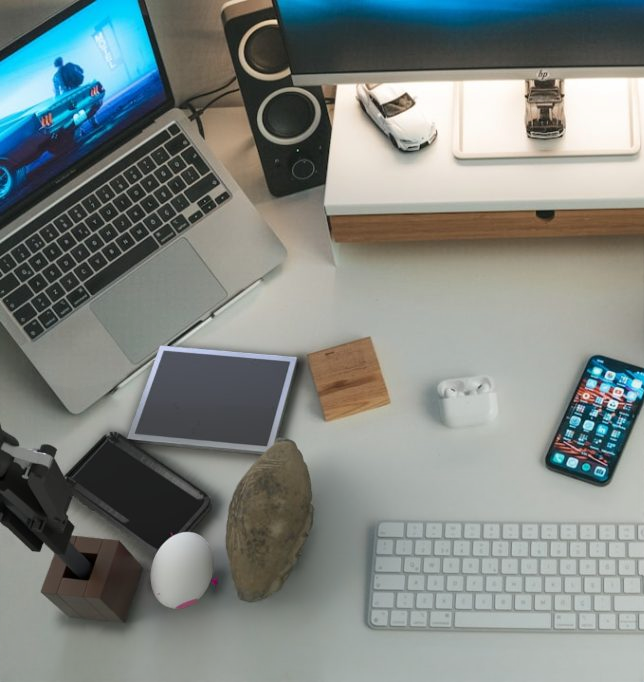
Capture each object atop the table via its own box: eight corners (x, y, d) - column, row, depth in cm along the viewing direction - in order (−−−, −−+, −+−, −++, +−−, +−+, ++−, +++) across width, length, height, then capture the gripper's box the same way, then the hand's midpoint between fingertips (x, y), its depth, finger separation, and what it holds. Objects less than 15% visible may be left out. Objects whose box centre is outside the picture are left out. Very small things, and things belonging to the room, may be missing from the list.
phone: (111, 427, 117) (213, 498, 111) (115, 432, 117) (216, 503, 112) (56, 483, 113) (159, 558, 108) (60, 488, 114) (162, 563, 109)
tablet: (129, 442, 117) (126, 438, 116) (162, 348, 123) (159, 344, 123) (273, 456, 115) (271, 452, 115) (298, 360, 122) (297, 356, 121)
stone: (310, 615, 106) (293, 585, 99) (221, 614, 106) (198, 584, 99) (330, 458, 115) (316, 422, 108) (248, 458, 115) (229, 422, 109)
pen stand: (68, 617, 106) (39, 592, 101) (88, 561, 110) (61, 533, 104) (124, 623, 106) (99, 598, 100) (143, 567, 109) (119, 540, 103)
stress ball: (188, 558, 113) (135, 535, 109) (240, 541, 109) (188, 516, 104) (172, 629, 108) (117, 608, 104) (226, 613, 104) (171, 590, 100)
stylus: (95, 598, 107) (0, 505, 89) (101, 583, 108) (7, 488, 90) (111, 600, 107) (18, 507, 89) (116, 585, 108) (25, 489, 90)
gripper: (40, 371, 78) (145, 508, 98) (-149, 354, 79) (-9, 492, 99) (1, 464, 74) (118, 587, 94) (-198, 445, 75) (-41, 570, 95)
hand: (53, 538), depth 96 cm, fingers closed on stylus, 1 cm apart
